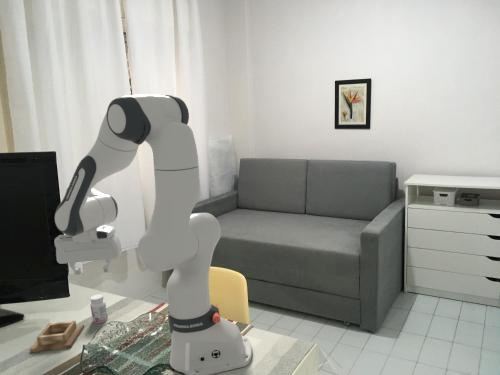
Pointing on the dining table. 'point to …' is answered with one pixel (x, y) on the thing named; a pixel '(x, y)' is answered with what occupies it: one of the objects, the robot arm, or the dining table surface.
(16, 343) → the dining table surface
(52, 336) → the brown square wooden holder
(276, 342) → the dining table surface
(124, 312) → the dining table surface
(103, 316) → the pill bottle
